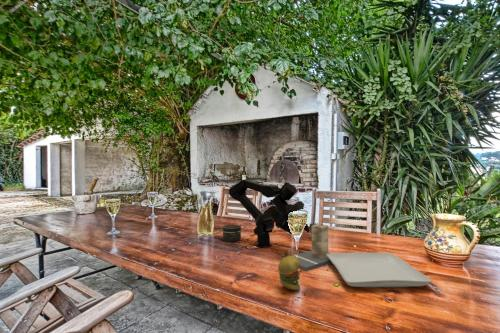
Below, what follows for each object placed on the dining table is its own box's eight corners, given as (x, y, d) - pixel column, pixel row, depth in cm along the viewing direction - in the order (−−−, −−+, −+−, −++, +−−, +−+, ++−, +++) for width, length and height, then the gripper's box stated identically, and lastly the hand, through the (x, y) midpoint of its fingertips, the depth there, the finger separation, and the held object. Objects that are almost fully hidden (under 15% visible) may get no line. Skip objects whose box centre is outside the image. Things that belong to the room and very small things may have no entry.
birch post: (311, 256, 117) (311, 225, 116) (318, 253, 120) (317, 224, 120) (322, 259, 113) (321, 227, 113) (328, 256, 117) (327, 225, 116)
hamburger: (305, 292, 87) (305, 255, 87) (285, 296, 85) (284, 258, 85) (293, 282, 95) (293, 248, 94) (274, 286, 92) (274, 250, 92)
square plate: (325, 261, 114) (325, 252, 114) (391, 261, 113) (391, 251, 113) (346, 292, 87) (346, 280, 87) (434, 292, 86) (434, 279, 86)
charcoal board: (283, 261, 115) (283, 257, 115) (316, 252, 126) (316, 248, 126) (306, 271, 104) (305, 267, 104) (340, 260, 115) (339, 256, 115)
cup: (324, 241, 144) (323, 226, 144) (309, 240, 146) (309, 225, 146) (323, 237, 151) (323, 223, 151) (309, 237, 153) (309, 222, 153)
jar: (244, 240, 148) (244, 226, 148) (228, 244, 142) (228, 229, 142) (235, 236, 156) (234, 223, 156) (219, 239, 150) (219, 226, 150)
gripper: (280, 198, 119) (301, 227, 111) (304, 193, 132) (325, 219, 125) (266, 213, 125) (286, 242, 117) (291, 208, 138) (310, 233, 130)
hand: (303, 234), depth 122 cm, fingers open, 9 cm apart
